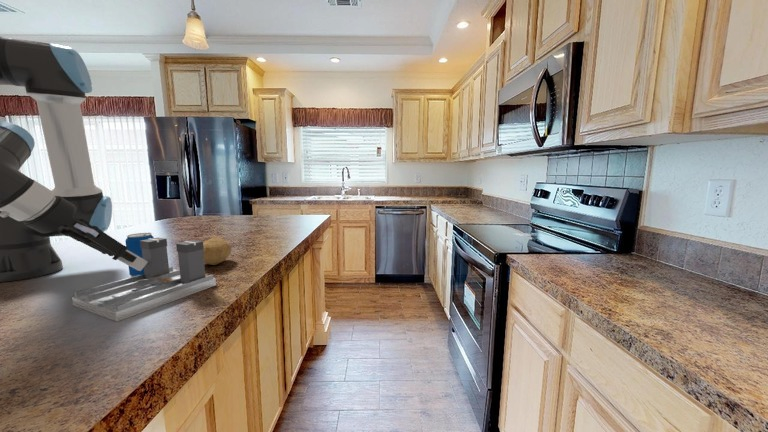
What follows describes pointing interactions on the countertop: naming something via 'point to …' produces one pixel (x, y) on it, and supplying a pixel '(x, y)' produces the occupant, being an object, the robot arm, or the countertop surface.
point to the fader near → (155, 256)
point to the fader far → (191, 260)
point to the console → (138, 294)
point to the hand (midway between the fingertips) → (142, 265)
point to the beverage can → (136, 248)
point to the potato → (215, 251)
